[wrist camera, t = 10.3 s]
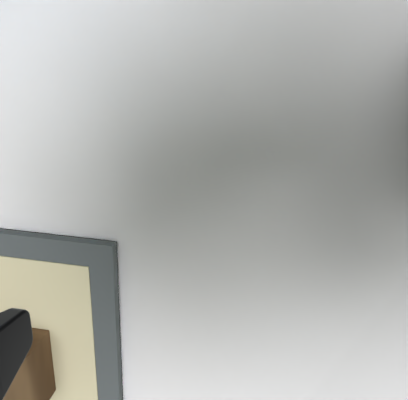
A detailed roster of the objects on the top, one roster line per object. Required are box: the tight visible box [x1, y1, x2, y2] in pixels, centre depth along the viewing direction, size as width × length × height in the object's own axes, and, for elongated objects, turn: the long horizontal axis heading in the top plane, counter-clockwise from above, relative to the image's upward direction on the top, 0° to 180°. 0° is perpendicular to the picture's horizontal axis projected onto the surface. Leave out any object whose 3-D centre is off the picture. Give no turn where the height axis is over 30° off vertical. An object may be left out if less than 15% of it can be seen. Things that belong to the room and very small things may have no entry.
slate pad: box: [0, 229, 123, 400], centre depth 26 cm, size 14×18×1 cm
